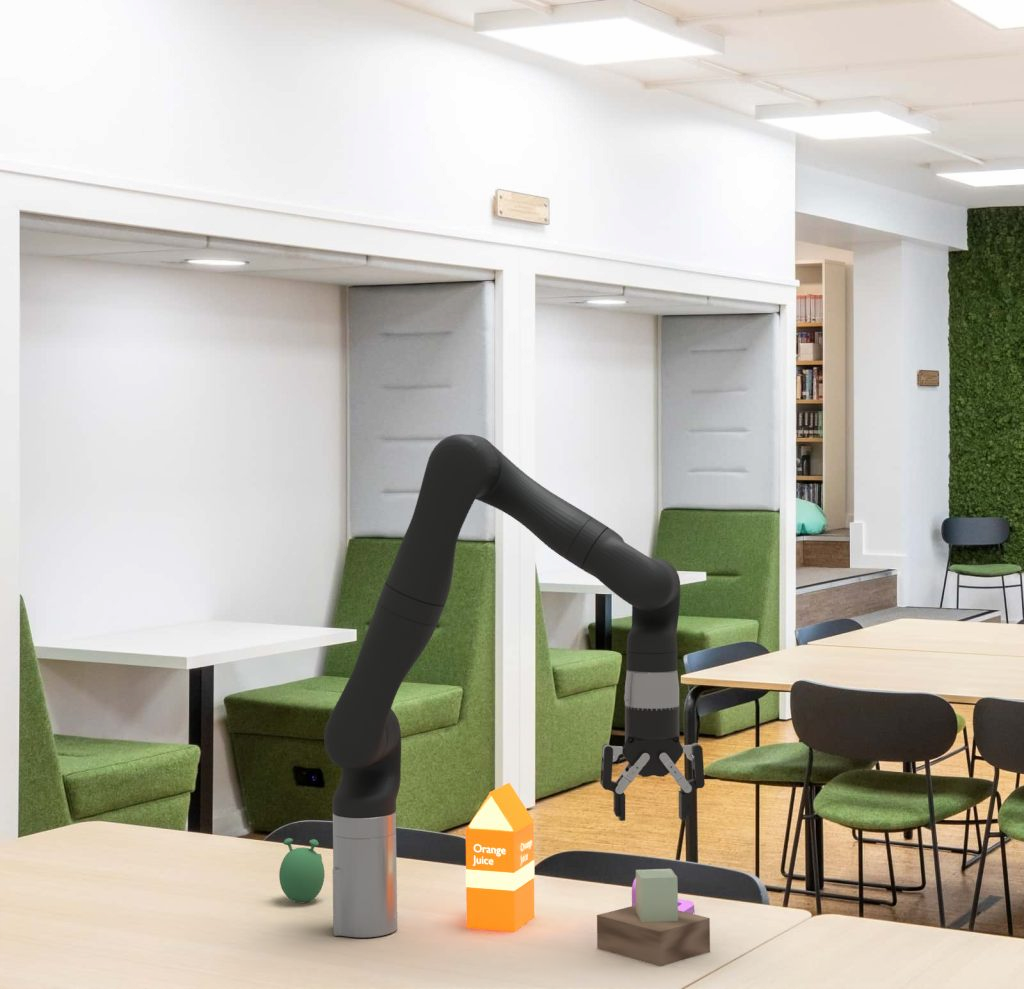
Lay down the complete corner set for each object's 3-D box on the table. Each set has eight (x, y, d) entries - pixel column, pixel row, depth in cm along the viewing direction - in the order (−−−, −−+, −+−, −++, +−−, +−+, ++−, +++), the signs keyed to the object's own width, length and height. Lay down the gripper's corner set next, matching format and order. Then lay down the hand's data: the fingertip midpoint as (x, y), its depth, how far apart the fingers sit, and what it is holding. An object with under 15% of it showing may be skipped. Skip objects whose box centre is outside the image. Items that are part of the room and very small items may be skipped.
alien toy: (329, 895, 257) (329, 832, 257) (319, 908, 250) (318, 843, 250) (286, 895, 258) (285, 832, 258) (274, 907, 250) (274, 842, 250)
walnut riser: (660, 969, 217) (659, 931, 217) (597, 950, 226) (596, 915, 226) (710, 954, 224) (709, 918, 224) (646, 937, 233) (646, 902, 233)
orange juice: (465, 927, 237) (464, 791, 237) (487, 912, 246) (485, 781, 246) (515, 932, 235) (514, 794, 235) (536, 917, 243) (534, 783, 243)
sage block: (641, 922, 222) (641, 878, 222) (636, 912, 227) (635, 869, 227) (677, 920, 222) (677, 877, 222) (671, 911, 227) (671, 868, 227)
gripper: (604, 707, 220) (605, 826, 221) (708, 705, 222) (708, 824, 222) (597, 699, 228) (597, 815, 228) (697, 698, 229) (697, 813, 229)
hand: (652, 819), depth 225 cm, fingers open, 8 cm apart
